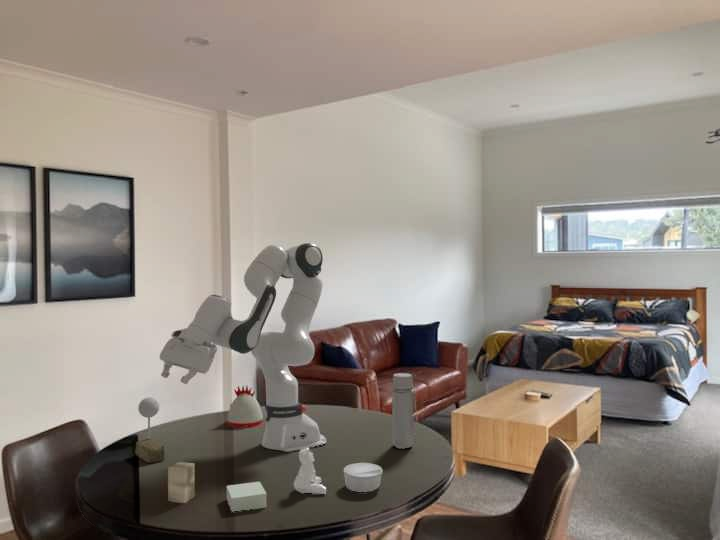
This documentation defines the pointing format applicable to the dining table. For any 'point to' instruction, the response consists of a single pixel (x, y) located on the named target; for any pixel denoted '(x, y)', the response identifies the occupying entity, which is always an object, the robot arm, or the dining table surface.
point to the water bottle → (403, 409)
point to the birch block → (181, 482)
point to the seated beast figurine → (308, 475)
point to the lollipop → (148, 409)
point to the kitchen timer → (244, 410)
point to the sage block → (246, 496)
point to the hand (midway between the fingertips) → (173, 379)
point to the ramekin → (362, 476)
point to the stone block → (150, 451)
